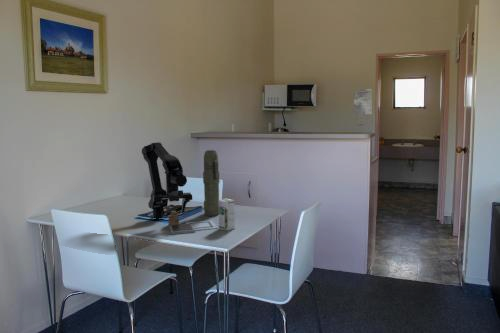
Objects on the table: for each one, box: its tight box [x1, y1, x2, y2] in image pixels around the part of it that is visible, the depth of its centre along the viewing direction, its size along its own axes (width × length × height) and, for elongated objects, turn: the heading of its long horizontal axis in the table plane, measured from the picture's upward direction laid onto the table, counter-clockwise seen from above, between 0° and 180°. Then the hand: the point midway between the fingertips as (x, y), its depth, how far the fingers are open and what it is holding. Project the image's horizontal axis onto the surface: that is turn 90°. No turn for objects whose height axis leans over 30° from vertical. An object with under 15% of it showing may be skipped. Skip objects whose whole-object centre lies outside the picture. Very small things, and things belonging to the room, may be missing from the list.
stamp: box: [167, 210, 180, 227], centre depth 220 cm, size 5×5×8 cm
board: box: [184, 219, 219, 232], centre depth 221 cm, size 14×14×1 cm
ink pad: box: [168, 223, 196, 235], centre depth 214 cm, size 11×11×2 cm
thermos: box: [202, 149, 221, 217], centre depth 241 cm, size 9×12×35 cm
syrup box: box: [218, 198, 236, 232], centre depth 214 cm, size 6×6×14 cm
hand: (173, 214), depth 220 cm, fingers open, 9 cm apart
